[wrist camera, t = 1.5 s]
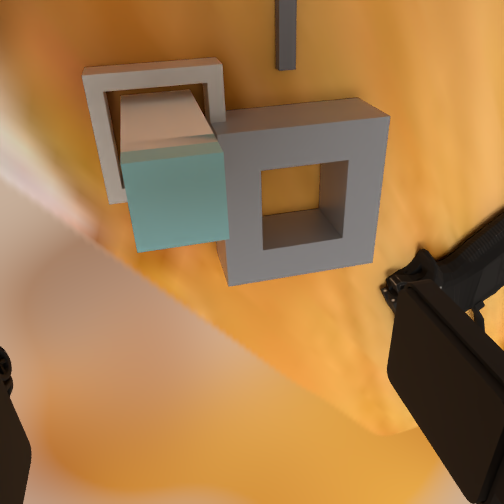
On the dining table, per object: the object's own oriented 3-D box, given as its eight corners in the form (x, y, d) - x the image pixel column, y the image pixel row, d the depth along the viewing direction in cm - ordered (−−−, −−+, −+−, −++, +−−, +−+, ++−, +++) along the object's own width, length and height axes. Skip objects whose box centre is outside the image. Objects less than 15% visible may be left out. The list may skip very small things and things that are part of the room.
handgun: (519, 339, 44) (404, 394, 44) (516, 189, 35) (369, 258, 34) (546, 364, 42) (425, 423, 41) (552, 209, 32) (393, 285, 32)
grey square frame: (84, 67, 23) (81, 75, 22) (215, 57, 25) (222, 63, 23) (110, 189, 27) (109, 204, 25) (223, 175, 28) (230, 188, 26)
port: (205, 112, 26) (217, 134, 23) (357, 97, 28) (390, 116, 24) (217, 251, 31) (228, 286, 27) (346, 231, 32) (372, 262, 29)
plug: (120, 95, 24) (120, 164, 16) (189, 89, 25) (223, 152, 17) (132, 161, 26) (137, 252, 18) (196, 153, 27) (229, 239, 19)
